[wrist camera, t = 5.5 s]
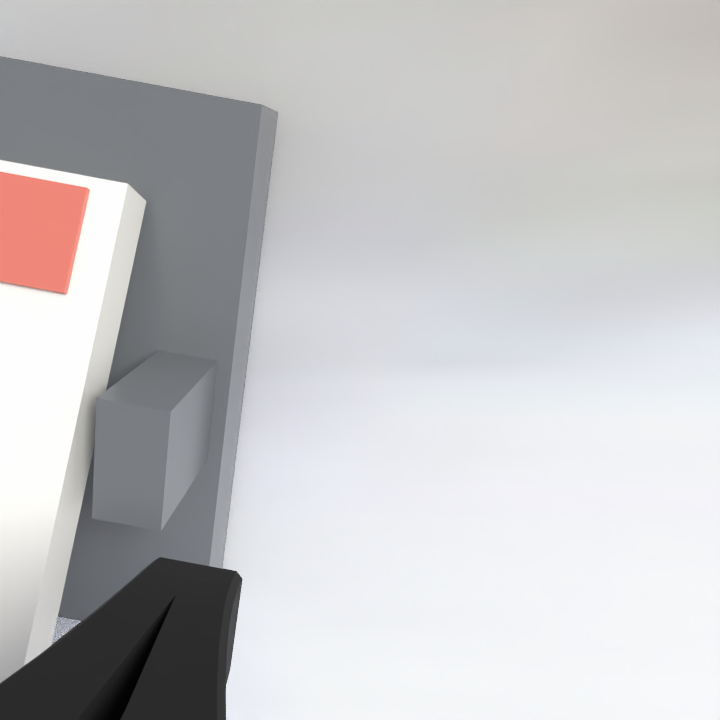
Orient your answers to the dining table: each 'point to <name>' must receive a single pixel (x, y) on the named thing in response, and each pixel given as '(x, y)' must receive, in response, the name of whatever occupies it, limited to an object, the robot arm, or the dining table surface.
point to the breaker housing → (158, 306)
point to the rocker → (52, 376)
